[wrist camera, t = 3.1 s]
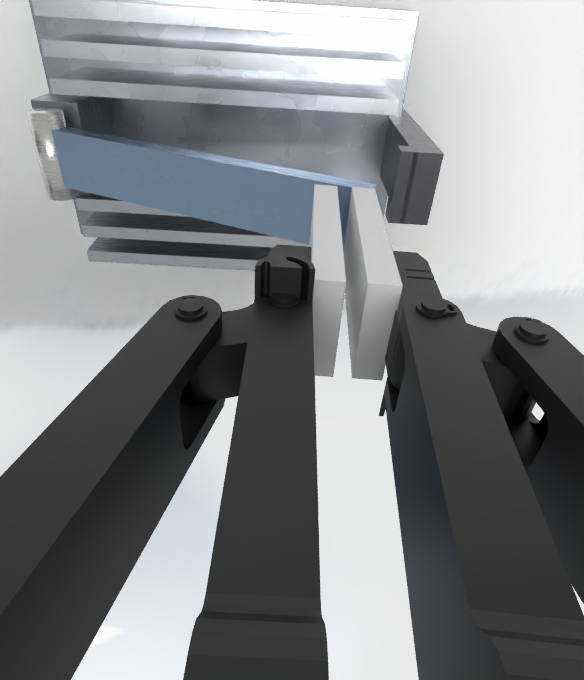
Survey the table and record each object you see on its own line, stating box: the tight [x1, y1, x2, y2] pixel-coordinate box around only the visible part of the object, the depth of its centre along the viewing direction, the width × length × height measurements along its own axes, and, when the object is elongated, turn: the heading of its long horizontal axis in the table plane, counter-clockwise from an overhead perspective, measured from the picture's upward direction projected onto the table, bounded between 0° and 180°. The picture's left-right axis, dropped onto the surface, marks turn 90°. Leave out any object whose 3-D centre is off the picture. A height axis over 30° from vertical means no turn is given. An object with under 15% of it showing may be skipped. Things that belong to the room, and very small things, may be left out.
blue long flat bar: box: [26, 108, 377, 253], centre depth 19 cm, size 15×4×1 cm, turn 86°
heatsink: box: [29, 0, 443, 270], centre depth 23 cm, size 19×12×9 cm, turn 87°
